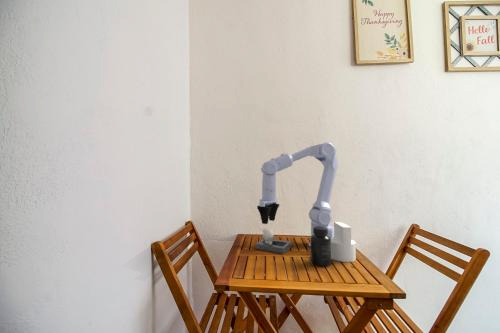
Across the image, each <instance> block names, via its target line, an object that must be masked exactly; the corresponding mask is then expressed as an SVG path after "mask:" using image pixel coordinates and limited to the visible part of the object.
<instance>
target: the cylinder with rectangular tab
mask: <svg viewBox="0 0 500 333" xmlns="http://www.w3.org/2000/svg"><path fill="white" fill-rule="evenodd" d="M333 227H334V238H331V260H335V261H337V262H345V263H351V262H355V261H356V255H357V254H356V251H357V250H356V241H355V240H353V239H352V226H350V225H348V224H346V223H344V222H342V221H334V223H333Z"/></svg>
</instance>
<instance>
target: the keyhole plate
mask: <svg viewBox="0 0 500 333" xmlns="http://www.w3.org/2000/svg"><path fill="white" fill-rule="evenodd" d="M254 246H255V250H259V251H260V250H261V251H265V252H271V253H277V254H281V255H285V253H286V252H288V251H289V249H290V248H292V242H291V241H290V240H289V241H288V240H280V239H275V238H273V241H271V245H270V243H265V240H263V238H262V239H261V240H259V241H258V242H256V243H255V244H254Z"/></svg>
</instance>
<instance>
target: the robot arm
mask: <svg viewBox="0 0 500 333" xmlns="http://www.w3.org/2000/svg"><path fill="white" fill-rule="evenodd" d="M307 157H314V158H315V159H316V160H317V161H319V162H320V163H321V165H322V166H323V171H322V175H321V179H320V184H319V188H318V193H317V197H316V200H315V201H314V203H313V204H312V207H311V209H310V210H309V212H308V217H309V219H310V237H311V236H312V235H314V233H313V228H314V227H326V228H328V234H327V235H328V236H329V237H330V238H334V225H333V226H332V225H330V223H331V222H332V214H331V212H332V208H331V205H330V201H331V197H332V193H333V189H334V188H333V187H334V184H335V178H336V176H337V170H338V166H339V163H338V158H337V149H336V147H335V146H334V145H333V144H332V143H331V142H329V141H328V142H326V141H325V142H323V143H319V144H314V145H311V146H308V147H305V148H304V149H301V150H299V151H297V152H294V153H293V154H288V153H281V154H280V155H279V156H278V157H275V158H273V157H272V158H270V160H268V161H265V162H263V164H262V166H261V168H260V170H261V172H262V181H261V182H262V184H261V189H262V190H261V199H259V202H258V204H259V205H257V210H258V212H259V216H260V220H261V223H262V224H263V225H268V223H269V221H270V222H271V221H272V222H273V221H274V222H275V220H276V216H277V212H278V210H279V208H280V203H278V198H277V196H276V194H277V192H276V191H277V189H276V188H277V187H276V186H277V184H276V182H277V181H276V180H277V178H276V176H277V175H276V174H277V173H278V172H281V171H283V170H285V169H288V168H290V167H292V166H293V163H294V162H296V161H299V160H301V159H304V158H307ZM308 247H310V242H309V243H308Z"/></svg>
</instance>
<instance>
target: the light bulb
mask: <svg viewBox="0 0 500 333" xmlns="http://www.w3.org/2000/svg"><path fill="white" fill-rule="evenodd" d="M274 232H275V231H274V229H273V228H263V229H262V239H263V240H265V243H270V245H271V241H273V239H274V234H275V233H274Z"/></svg>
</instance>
